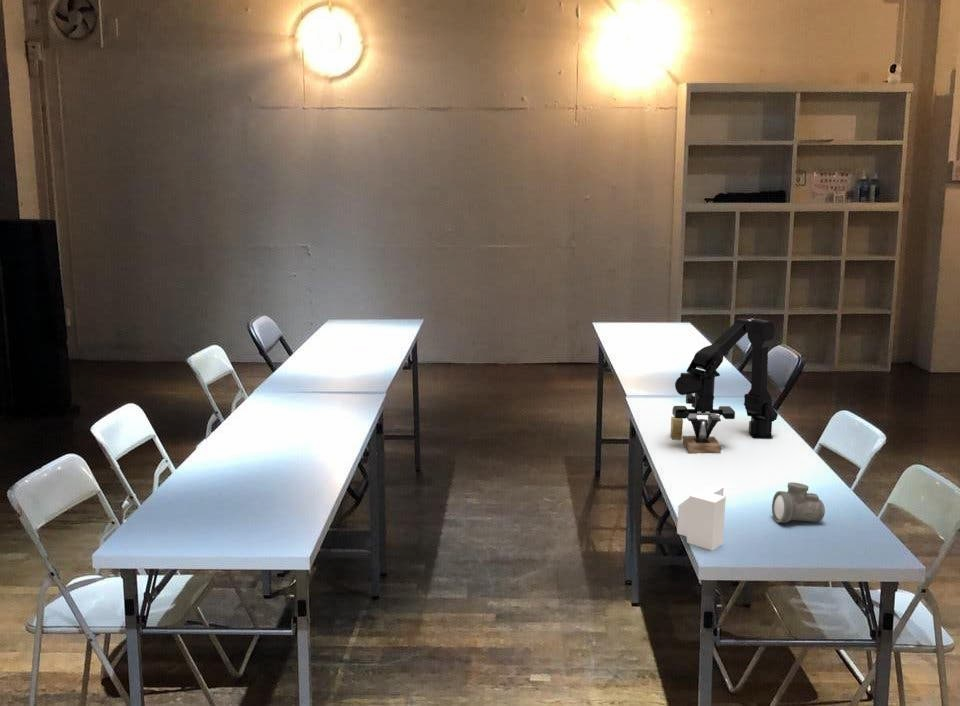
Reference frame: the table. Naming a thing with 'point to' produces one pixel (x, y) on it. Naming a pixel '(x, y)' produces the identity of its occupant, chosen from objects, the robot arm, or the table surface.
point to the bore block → (701, 445)
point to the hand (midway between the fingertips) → (701, 438)
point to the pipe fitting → (797, 505)
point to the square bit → (676, 428)
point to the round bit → (702, 431)
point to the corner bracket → (703, 517)
